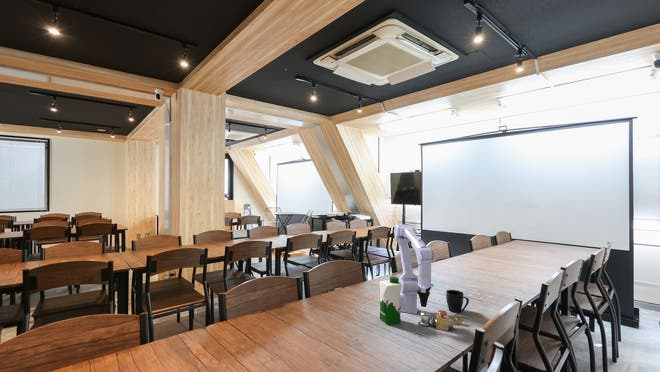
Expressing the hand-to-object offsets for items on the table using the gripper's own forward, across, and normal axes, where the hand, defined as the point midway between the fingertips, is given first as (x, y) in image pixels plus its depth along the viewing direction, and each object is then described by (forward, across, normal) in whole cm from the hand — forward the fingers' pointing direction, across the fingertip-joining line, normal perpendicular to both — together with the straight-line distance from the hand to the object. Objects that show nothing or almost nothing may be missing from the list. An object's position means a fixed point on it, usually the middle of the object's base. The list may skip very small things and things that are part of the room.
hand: (424, 303), depth 136 cm
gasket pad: (+9, 0, 0) cm, 9 cm away
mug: (+10, +22, -15) cm, 28 cm away
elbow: (+9, +7, -14) cm, 18 cm away
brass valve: (+9, 0, -8) cm, 12 cm away
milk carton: (+10, -3, +15) cm, 18 cm away
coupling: (+9, 0, 0) cm, 9 cm away
